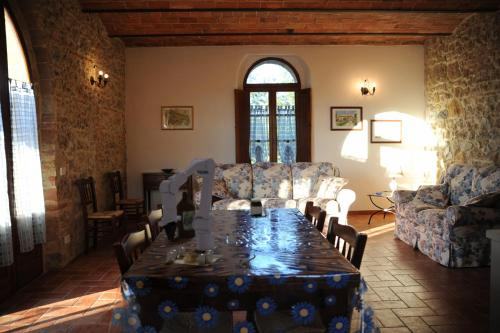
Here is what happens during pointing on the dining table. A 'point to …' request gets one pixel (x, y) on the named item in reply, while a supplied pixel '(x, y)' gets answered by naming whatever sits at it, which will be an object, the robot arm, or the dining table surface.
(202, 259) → the grey piece
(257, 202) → the spread jar
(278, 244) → the dining table surface
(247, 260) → the pliers
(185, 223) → the olive oil
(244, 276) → the dining table surface
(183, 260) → the board
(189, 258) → the nut
